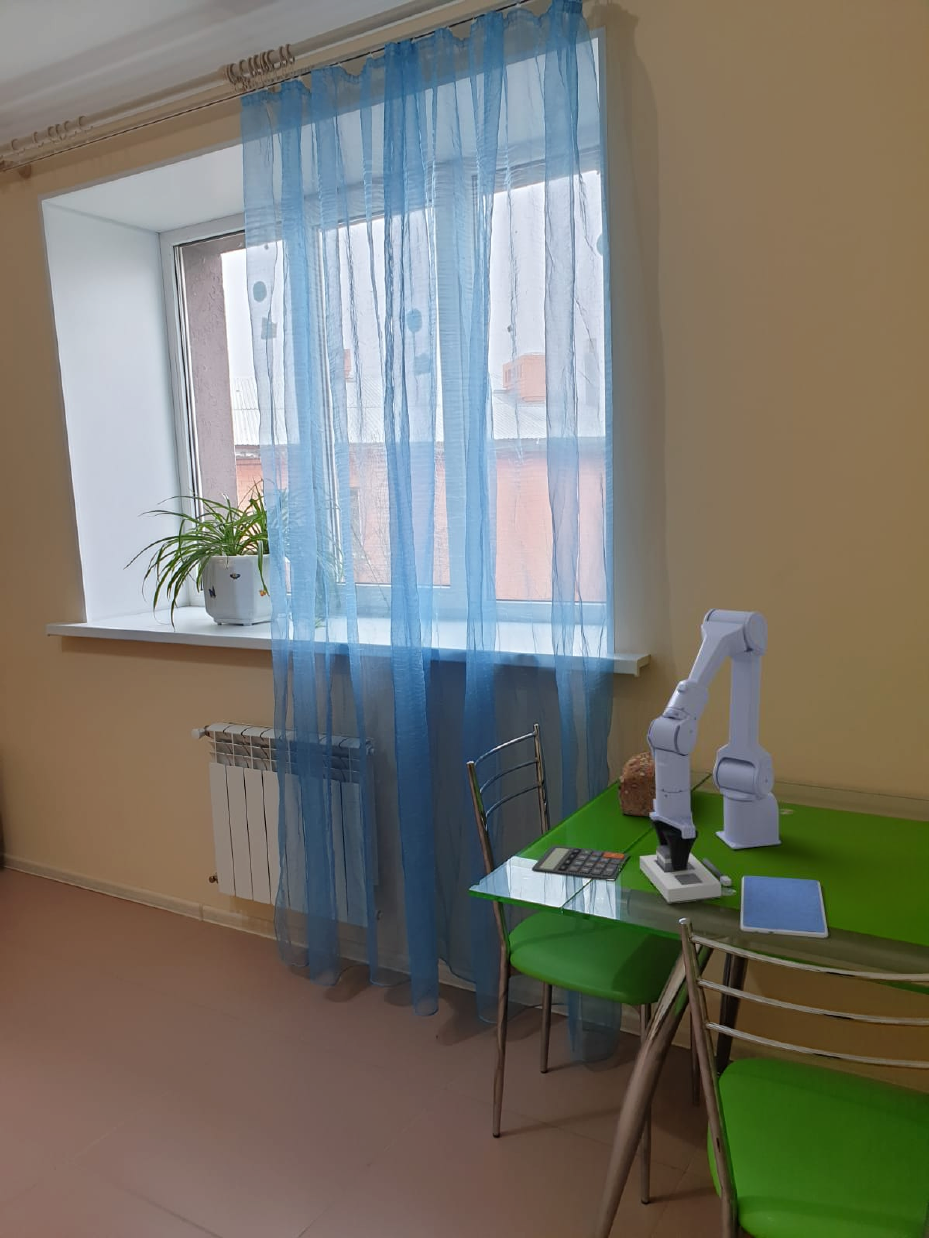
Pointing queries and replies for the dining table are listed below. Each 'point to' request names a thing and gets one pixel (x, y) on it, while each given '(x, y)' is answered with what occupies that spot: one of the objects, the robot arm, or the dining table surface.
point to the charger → (665, 859)
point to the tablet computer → (782, 906)
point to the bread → (638, 785)
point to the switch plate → (682, 881)
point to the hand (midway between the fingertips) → (674, 863)
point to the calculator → (580, 862)
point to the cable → (717, 873)
